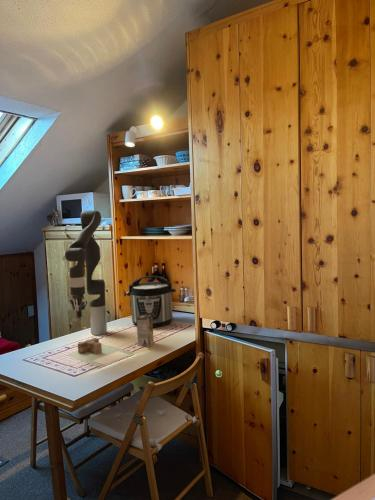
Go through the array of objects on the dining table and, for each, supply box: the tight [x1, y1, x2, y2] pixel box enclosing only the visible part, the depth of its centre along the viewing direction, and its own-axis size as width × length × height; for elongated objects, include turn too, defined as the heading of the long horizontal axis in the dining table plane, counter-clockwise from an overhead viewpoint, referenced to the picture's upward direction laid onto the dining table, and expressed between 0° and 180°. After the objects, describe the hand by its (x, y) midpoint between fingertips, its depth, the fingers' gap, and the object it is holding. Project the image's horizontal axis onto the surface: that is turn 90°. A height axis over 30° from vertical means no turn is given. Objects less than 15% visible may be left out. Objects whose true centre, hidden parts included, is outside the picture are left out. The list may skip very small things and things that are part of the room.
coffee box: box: [136, 315, 155, 349], centre depth 208 cm, size 9×6×16 cm
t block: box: [77, 337, 102, 354], centre depth 198 cm, size 10×11×5 cm
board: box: [66, 343, 134, 369], centre depth 194 cm, size 27×22×1 cm
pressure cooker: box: [125, 275, 176, 328], centre depth 252 cm, size 30×28×32 cm
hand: (79, 317), depth 204 cm, fingers closed
